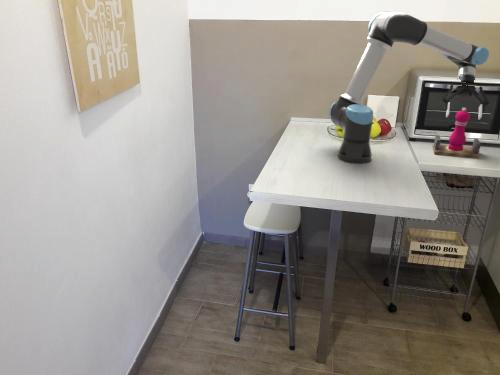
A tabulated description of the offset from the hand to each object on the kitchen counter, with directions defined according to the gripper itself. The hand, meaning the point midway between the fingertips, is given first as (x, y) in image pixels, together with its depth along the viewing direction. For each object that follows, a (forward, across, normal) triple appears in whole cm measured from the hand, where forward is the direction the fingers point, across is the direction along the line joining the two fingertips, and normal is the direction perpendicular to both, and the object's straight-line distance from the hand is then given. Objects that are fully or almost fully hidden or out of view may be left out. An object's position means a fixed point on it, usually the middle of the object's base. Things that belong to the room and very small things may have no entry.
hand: (463, 117), depth 186 cm
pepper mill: (+11, 0, -11) cm, 16 cm away
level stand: (+12, 0, -12) cm, 17 cm away
